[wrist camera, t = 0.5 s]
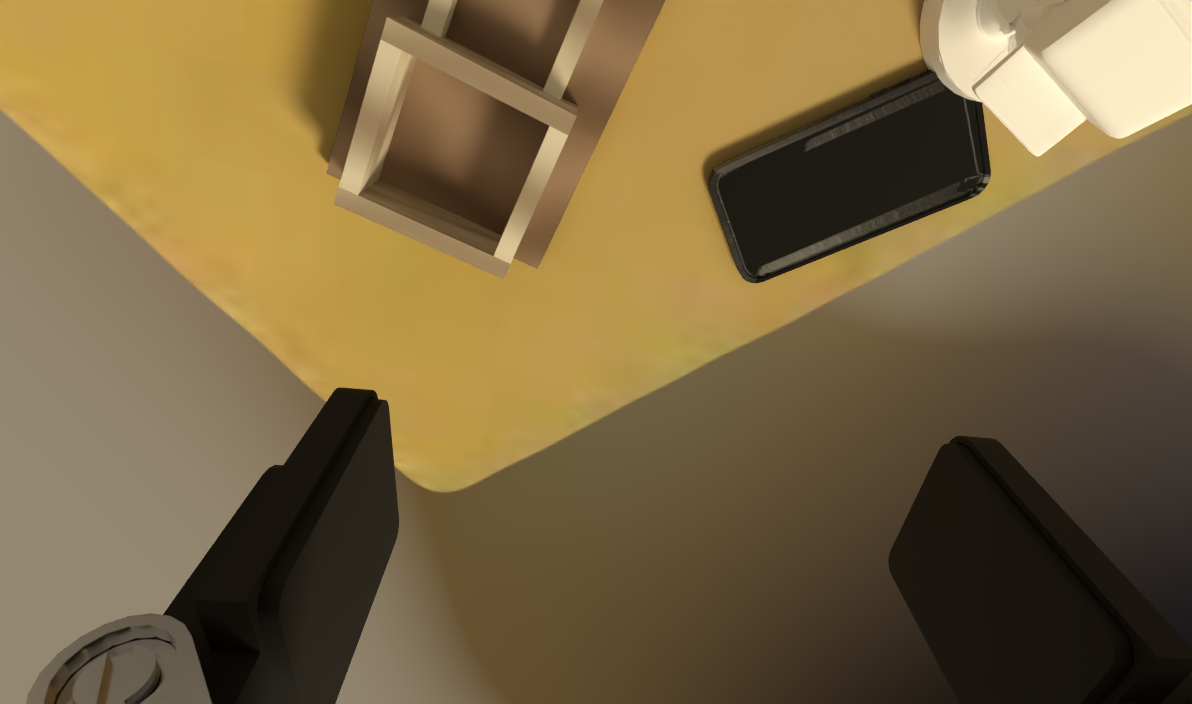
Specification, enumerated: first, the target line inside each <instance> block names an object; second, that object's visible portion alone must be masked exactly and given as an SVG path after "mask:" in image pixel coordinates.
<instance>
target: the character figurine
mask: <svg viewBox="0 0 1192 704" xmlns="http://www.w3.org/2000/svg"><path fill="white" fill-rule="evenodd" d="M920 45H921V50H922V55H923V59H924V61H925V63H926V66H927V68H928V70H932V71H933V72H936V74H937V76H938V78H939V79H940V80H941V82H942V83H943V84H944V85H945V86H946V87H948V88H949V89H950V90H951V91H953V92H954V93H955V94H958V95H960V96H962V97H964V98H966V99H970V100H974V101H978V102H983V103H984V105H985V106H986V107H987V108H988V109H989V110H990V111H991V112H992V113H993V114H994V115H995V116H996V117H997V118H998V119H999V120H1000V121H1001V122H1002V123H1003V125H1004V126H1005V127H1006V128H1007V129H1008V130H1009V131H1010V132H1011V133H1012V134H1013V135H1014V136H1015V137H1016V138H1017V139H1018V140H1019V141H1020V142H1021V143H1022V145H1023V146H1024V147H1025V148H1026V149H1027V150H1029V151H1030V152H1031V153H1032V154H1034V155H1035V156H1040V155H1042V154H1043V153H1044V152H1046V151H1047V150H1048V149H1049V148H1051V147H1052V146H1054V145H1055V144H1056V143H1057V142H1059V141H1060V140H1061V139H1062V138H1064V137H1065V136H1066V135H1067V134H1069V133H1070V132H1071V131H1072V130H1074V129H1075V128H1076V127H1077V126H1079V125H1080V124H1081V123H1082V122H1084V121H1085V120H1086V119H1087V120H1089V121H1090V122H1091V123H1093V124H1094V125H1095V126H1096V127H1098V128H1099V129H1100V130H1102V131H1103V132H1104V133H1106V134H1107V135H1109V136H1111V137H1114V138H1123V137H1126V136H1129V135H1131V134H1133V133H1135V132H1137V131H1139V130H1141V129H1143V128H1145V127H1147V126H1149V125H1151V124H1153V123H1155V122H1157V121H1159V120H1161V119H1163V118H1165V117H1167V116H1169V115H1171V114H1173V113H1175V112H1177V111H1178V110H1180V109H1182V108H1184V107H1186V106H1188V105H1190V104H1192V0H924V3H923V7H922V13H921V18H920Z"/></svg>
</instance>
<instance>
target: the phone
mask: <svg viewBox="0 0 1192 704" xmlns="http://www.w3.org/2000/svg"><path fill="white" fill-rule="evenodd" d="M990 176H991V169H990V161H989V154H988V146H987V138H986V130H985V122H984V114H983V107H982V102H978V101H974V100H970V99H966V98H964V97H962V96H960V95H958V94H955V93H954V92H953V91H951V90H950V89H949V88H948V87H946V86H945V85H944V84H943V83H942V82H941V80H940V79H939V78H938V76H937V74H936V72H933V71H932V70H927V71H925V72H923V73H921V74H920V75H918V76H916V77H914V78H909V79H907V80H904V81H902V82H900V83H898V84H895V85H893V86H892V87H891V88H889V89H887V88H886V89H883V90H881V91H879V92H877V93H874V94H872V95H871V97H869V98H867V99H864V100H862V101H860V102H858V103H855V104H853V105H851V106H849V107H846V108H844V109H842V110H840V111H837V112H835V113H833V114H831V115H828V116H826V117H824V118H822V119H820V120H817V121H815V122H813V123H811V124H808V125H806V126H804V127H802V128H799V129H797V130H795V131H793V132H790V133H788V134H786V135H784V136H782V137H779V138H777V139H775V140H773V141H770V142H768V143H766V144H764V145H761V146H759V147H757V148H755V149H752V150H750V151H748V152H746V153H743V154H741V155H739V156H737V157H735V158H732V159H730V160H728V161H726V162H723V163H721V164H720V165H718V166H716V167H715V168H714V169H713V171H712V172H711V174H710V176H709V178H708V189H709V192H710V195H711V198H712V201H713V203H714V206H715V209H716V212H717V214H718V217H719V220H720V223H721V225H722V228H723V231H724V234H725V236H726V239H727V242H728V245H729V248H730V250H731V253H732V256H733V259H734V261H735V264H736V267H737V269H738V271H739V273H740V274H741V276H742V278H743V279H745V280H746V281H748V282H751V283H760V282H763V281H766V280H768V279H771V278H773V277H776V276H778V275H781V274H783V273H786V272H788V271H791V270H793V269H796V268H798V267H801V266H803V265H806V264H808V263H811V262H813V261H816V260H818V259H821V258H823V257H826V256H828V255H831V254H833V253H836V252H838V251H841V250H843V249H846V248H848V247H851V246H853V245H856V244H858V243H861V242H863V241H866V240H868V239H871V238H873V237H876V236H878V235H881V234H883V233H886V232H888V231H891V230H893V229H896V228H898V227H901V226H903V225H906V224H908V223H911V222H913V221H916V220H918V219H921V218H923V217H926V216H928V215H931V214H933V213H936V212H938V211H941V210H943V209H946V208H948V207H951V206H953V205H956V204H958V203H961V202H963V201H966V200H968V199H971V198H973V197H975V196H977V195H978V194H980V193H981V192H982V191H983V190H984V189H985V187H986V186H987V185H988V183H989V180H990Z"/></svg>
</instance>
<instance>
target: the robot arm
mask: <svg viewBox="0 0 1192 704" xmlns="http://www.w3.org/2000/svg"><path fill="white" fill-rule="evenodd" d="M397 504H398V503H397V492H396V481H395V470H394V459H393V448H392V437H391V426H390V415H389V406H388V402H387V401H386V400H379V399H378V397H377V394H376V392H375V391H374V390H365V389H352V388H337V389H336V390H335V391H334V392H333V393H332V395H331V396H330V398H329V399H328V401H327V402H326V404H325V405H324V407H323V408H322V409H321V411H320V412H319V414H318V415H317V417H316V418H315V420H314V421H313V423H312V424H311V426H310V427H309V429H308V430H307V431H306V433H305V434H304V436H303V438H302V439H301V440H300V442H299V443H298V445H297V446H296V448H295V449H294V451H293V452H292V454H291V455H290V457H289V458H288V459H287V461H286V462H285V464H284V465H274V466H272V467H270V468H269V469H268V470H267V471H266V472H265V473H264V474H263V475H262V476H261V478H260V479H259V481H258V482H257V484H256V485H255V486H254V488H253V489H252V491H251V492H250V493H249V495H248V496H247V498H246V499H245V500H244V502H243V503H242V505H241V506H240V508H239V509H238V510H237V512H236V513H235V514H234V516H233V517H232V519H231V520H230V521H229V523H228V524H227V526H226V527H225V529H224V530H223V531H222V533H221V534H220V536H219V537H218V538H217V540H216V541H215V543H214V544H213V545H212V547H211V548H210V549H209V551H208V552H207V554H206V555H205V556H204V558H203V559H202V561H201V562H200V564H199V565H198V566H197V568H196V569H195V571H194V572H193V573H192V575H191V576H190V578H189V579H188V580H187V582H186V583H185V585H184V586H183V587H182V589H181V590H180V592H179V593H178V594H177V596H176V597H175V599H174V600H173V601H172V603H171V604H170V606H169V607H168V609H167V610H166V611H165V613H164V614H163V615H159V614H152V613H151V614H143V615H134V616H128V617H125V618H122V619H119V620H116V621H113V622H110V623H107V624H104V625H102V626H100V627H99V628H97V629H95V630H93V631H91V632H89V633H87V634H85V635H83V636H81V637H80V638H78V639H77V640H76V641H74V642H73V643H72V644H70V645H69V646H68V647H66V648H65V649H64V650H62V651H61V652H60V653H58V654H57V655H56V657H55V658H54V659H53V660H52V661H51V662H50V663H49V664H48V665H47V666H46V667H45V668H44V669H43V671H42V672H41V673H40V674H39V676H38V678H37V679H36V681H35V683H34V684H33V686H32V688H31V690H30V691H29V693H28V696H27V702H26V704H335V703H336V700H337V697H338V695H339V692H340V689H341V687H342V684H343V681H344V679H345V676H346V673H347V671H348V668H349V665H350V663H351V660H352V657H353V654H354V652H355V649H356V646H357V644H358V641H359V638H360V636H361V633H362V630H363V627H364V625H365V622H366V620H367V617H368V614H369V611H370V609H371V606H372V603H373V601H374V598H375V596H376V593H377V590H378V587H379V584H380V582H381V579H382V577H383V574H384V571H385V569H386V566H387V563H388V561H389V558H390V555H391V553H392V550H393V547H394V545H395V542H396V539H397V534H398V528H399V514H398V505H397ZM889 568H890V572H891V575H892V577H893V579H894V581H895V582H896V584H897V586H898V588H899V590H900V592H901V594H902V596H903V598H904V600H905V602H906V603H907V605H908V607H909V609H910V611H911V613H912V615H913V617H914V619H915V621H916V622H917V624H918V626H919V628H920V630H921V632H922V633H923V636H924V638H925V639H926V642H927V643H928V645H929V647H930V649H931V651H932V653H933V655H934V657H935V658H936V661H937V662H938V664H939V666H940V668H941V670H942V672H943V674H944V676H945V678H946V680H947V682H948V683H949V685H950V687H951V689H952V691H953V693H954V695H955V697H956V699H957V700H958V702H959V704H1192V675H1191V674H1190V673H1191V672H1192V647H1191V646H1190V645H1189V644H1188V643H1187V642H1186V641H1185V640H1184V639H1183V638H1182V637H1181V636H1180V634H1179V633H1178V632H1177V631H1176V630H1175V629H1174V628H1173V627H1172V626H1171V625H1170V624H1169V623H1168V622H1167V621H1166V619H1165V618H1164V617H1163V616H1162V615H1161V614H1160V613H1159V612H1158V611H1157V610H1156V609H1155V608H1154V607H1153V606H1152V605H1151V603H1150V602H1149V601H1148V600H1147V599H1146V598H1145V597H1144V596H1143V595H1142V594H1141V593H1140V592H1139V591H1138V590H1137V588H1136V587H1135V586H1134V585H1133V584H1132V583H1131V582H1130V581H1129V580H1128V579H1127V578H1126V577H1125V576H1124V575H1123V574H1122V572H1121V571H1120V570H1119V569H1118V568H1117V567H1116V566H1115V565H1114V564H1113V563H1112V562H1111V561H1110V560H1109V559H1108V557H1107V556H1105V554H1104V553H1103V552H1102V551H1101V550H1100V549H1099V548H1098V547H1097V546H1096V545H1095V544H1094V543H1093V541H1092V540H1091V539H1090V538H1089V537H1088V536H1087V535H1086V534H1085V533H1084V532H1083V531H1082V530H1081V529H1080V528H1079V526H1078V525H1077V524H1076V523H1075V522H1074V521H1073V520H1072V519H1071V518H1070V517H1069V516H1068V515H1067V514H1066V513H1065V511H1064V510H1062V508H1061V507H1060V506H1059V505H1058V504H1057V503H1056V502H1055V501H1054V500H1053V499H1052V498H1051V497H1050V495H1049V494H1048V493H1047V492H1046V491H1045V490H1044V489H1043V488H1042V487H1041V486H1040V485H1039V484H1038V483H1037V482H1036V480H1035V479H1034V478H1033V477H1032V476H1031V475H1030V474H1029V473H1028V472H1027V471H1026V470H1025V469H1024V468H1023V467H1022V466H1021V464H1020V463H1019V462H1018V461H1017V460H1016V459H1015V458H1014V457H1013V456H1012V455H1011V454H1010V453H1009V452H1008V451H1007V450H1006V448H1005V447H1004V446H1003V445H1002V444H1001V443H1000V442H998V441H997V440H995V439H991V438H981V437H968V436H957V437H955V438H953V439H952V440H951V441H950V442H949V444H944V445H943V446H942V447H941V448H940V450H939V451H938V453H937V455H936V458H935V460H934V462H933V464H932V466H931V468H930V470H929V472H928V474H927V476H926V478H925V480H924V482H923V484H922V487H921V489H920V491H919V493H918V495H917V497H916V499H915V501H914V503H913V505H912V507H911V509H910V512H909V514H908V516H907V518H906V520H905V522H904V524H903V526H902V528H901V530H900V532H899V534H898V536H897V538H896V540H895V543H894V545H893V547H892V549H891V551H890V554H889Z"/></svg>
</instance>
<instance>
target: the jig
mask: <svg viewBox="0 0 1192 704" xmlns="http://www.w3.org/2000/svg"><path fill="white" fill-rule="evenodd" d="M664 2H665V0H373V3H372V6H371V10H370V14H369V18H368V21H367V25H366V29H365V32H364V36H363V40H362V44H361V47H360V51H359V55H358V58H357V62H356V66H355V69H354V73H353V77H352V81H351V84H350V88H349V92H348V95H347V99H346V103H345V106H344V110H343V114H342V118H341V121H340V125H339V129H338V132H337V136H336V140H335V144H334V147H333V151H332V155H331V158H330V162H329V166H328V169H327V174H329V175H331V176H333V177H336V178H338V179H340V180H341V181H340V184H339V188H338V192H337V195H336V199H335V202H334V204H335V205H337V206H339V207H341V208H344V209H346V210H348V211H351V212H353V213H355V214H357V215H360V216H362V217H364V218H366V219H369V220H371V221H373V222H375V223H378V224H380V225H382V226H384V227H387V228H389V229H391V230H394V231H396V232H398V233H400V234H403V235H405V236H407V237H409V238H412V239H414V240H416V241H418V242H421V243H423V244H425V245H427V246H430V247H432V248H434V249H437V250H439V251H441V252H443V253H446V254H448V255H450V256H452V257H455V258H457V259H459V260H461V261H464V262H466V263H468V264H471V265H473V266H475V267H477V268H480V269H482V270H484V271H486V272H489V273H491V274H493V275H495V276H498V277H500V278H502V279H504V277H505V275H506V273H507V270H508V268H509V266H510V264H511V262H512V259H513V258H515V259H517V260H519V261H521V262H524V263H526V264H528V265H530V266H532V267H535V268H537V269H538V267H539V265H540V262H541V260H542V258H543V256H544V254H545V252H546V250H547V248H548V246H549V244H550V241H551V239H552V237H553V235H554V233H555V231H556V229H557V227H558V225H559V223H560V220H561V218H562V216H563V214H564V212H565V210H566V208H567V206H568V204H569V202H570V199H571V197H572V195H573V193H574V191H575V189H576V187H577V185H578V183H579V181H580V178H581V176H582V174H583V172H584V170H585V168H586V166H587V164H588V162H589V160H590V157H591V155H592V153H593V151H594V149H595V147H596V145H597V143H598V141H599V139H600V136H601V134H602V132H603V130H604V128H605V126H606V124H607V122H608V120H609V118H610V115H611V113H612V111H613V109H614V107H615V105H616V103H617V101H618V99H619V96H620V94H621V92H622V90H623V88H624V86H625V84H626V82H627V80H628V78H629V75H630V73H631V71H632V69H633V67H634V65H635V63H636V61H637V59H638V57H639V54H640V52H641V50H642V48H643V46H644V44H645V42H646V40H647V38H648V36H649V33H650V31H651V29H652V27H653V25H654V23H655V21H656V19H657V17H658V15H659V12H660V10H661V8H662V6H663V4H664Z"/></svg>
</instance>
